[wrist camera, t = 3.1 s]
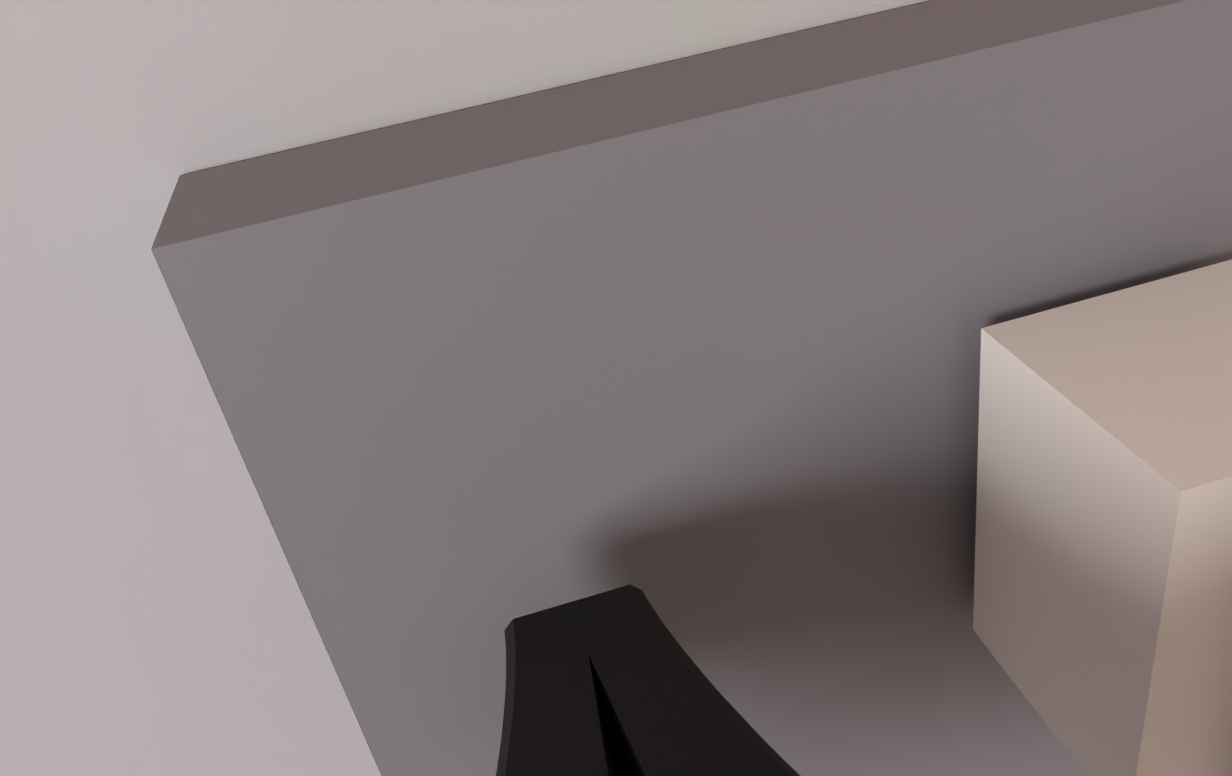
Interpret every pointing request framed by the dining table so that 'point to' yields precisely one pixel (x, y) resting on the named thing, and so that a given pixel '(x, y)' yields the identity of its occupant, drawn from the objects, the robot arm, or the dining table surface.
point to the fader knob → (1113, 522)
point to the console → (696, 357)
